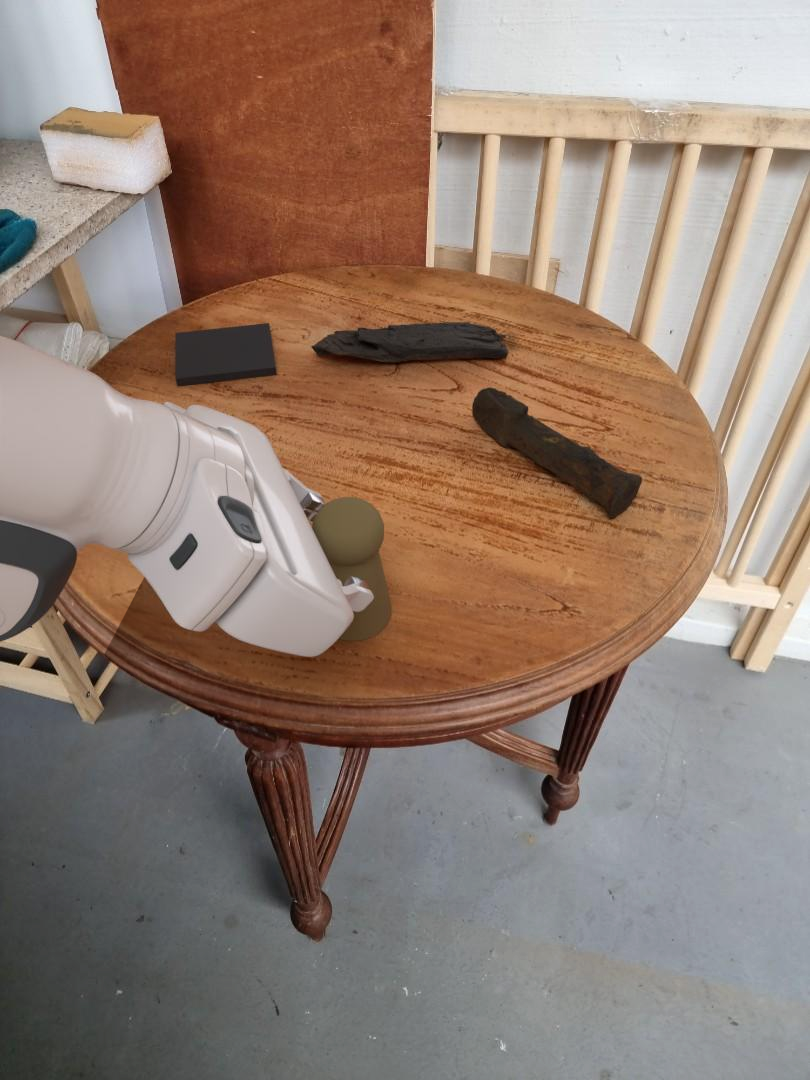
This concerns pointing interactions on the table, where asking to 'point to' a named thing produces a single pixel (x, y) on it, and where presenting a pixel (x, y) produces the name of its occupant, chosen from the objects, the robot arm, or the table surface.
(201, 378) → the mat
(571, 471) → the hand tool
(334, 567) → the olive pawn
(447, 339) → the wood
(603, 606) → the table surface
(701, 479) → the table surface
